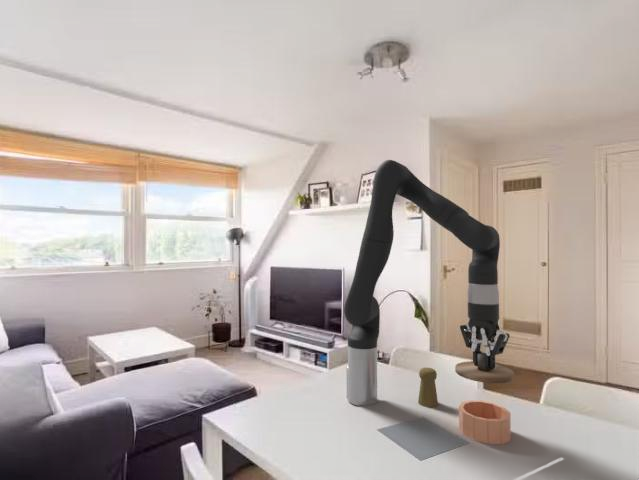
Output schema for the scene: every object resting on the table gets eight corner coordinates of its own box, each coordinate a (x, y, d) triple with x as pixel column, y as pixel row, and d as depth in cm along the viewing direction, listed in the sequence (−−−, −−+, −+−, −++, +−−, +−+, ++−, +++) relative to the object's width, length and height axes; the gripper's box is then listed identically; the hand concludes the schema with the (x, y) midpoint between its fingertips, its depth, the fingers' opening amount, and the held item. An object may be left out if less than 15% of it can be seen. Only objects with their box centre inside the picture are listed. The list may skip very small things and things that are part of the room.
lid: (443, 370, 99) (443, 351, 99) (478, 362, 106) (478, 344, 106) (490, 387, 87) (489, 365, 87) (526, 377, 93) (526, 357, 93)
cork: (439, 409, 110) (439, 372, 110) (418, 408, 111) (418, 371, 111) (437, 401, 116) (436, 366, 116) (417, 399, 117) (417, 364, 117)
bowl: (449, 428, 98) (449, 405, 98) (480, 418, 104) (480, 397, 104) (489, 450, 88) (489, 424, 88) (520, 438, 93) (520, 414, 94)
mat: (376, 431, 97) (376, 429, 97) (422, 418, 104) (422, 416, 104) (420, 462, 83) (420, 460, 83) (469, 444, 90) (469, 442, 90)
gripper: (517, 303, 92) (518, 373, 92) (470, 297, 105) (471, 358, 104) (497, 305, 89) (498, 378, 88) (451, 298, 101) (452, 362, 101)
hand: (483, 367), depth 96 cm, fingers closed on lid, 3 cm apart
